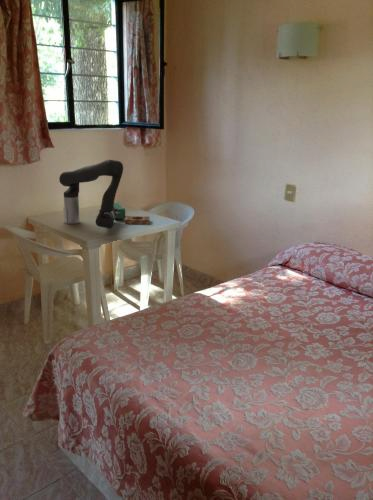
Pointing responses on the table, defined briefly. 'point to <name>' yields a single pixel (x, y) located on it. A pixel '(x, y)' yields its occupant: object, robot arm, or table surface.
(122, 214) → the toy
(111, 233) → the table surface
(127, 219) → the rail
